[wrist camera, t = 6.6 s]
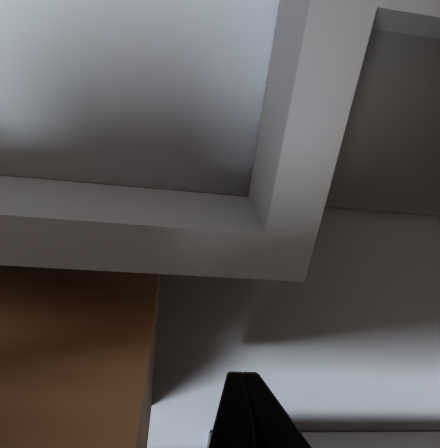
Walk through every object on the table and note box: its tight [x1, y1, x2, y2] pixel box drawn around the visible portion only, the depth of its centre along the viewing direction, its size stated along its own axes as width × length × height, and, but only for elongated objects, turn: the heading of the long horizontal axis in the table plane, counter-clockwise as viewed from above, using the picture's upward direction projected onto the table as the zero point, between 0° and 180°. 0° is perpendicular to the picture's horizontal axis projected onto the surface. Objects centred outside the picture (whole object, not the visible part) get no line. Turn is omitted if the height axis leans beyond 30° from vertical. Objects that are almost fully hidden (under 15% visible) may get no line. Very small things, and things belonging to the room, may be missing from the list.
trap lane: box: [0, 0, 440, 448], centre depth 9 cm, size 18×19×3 cm
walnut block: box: [0, 265, 160, 448], centre depth 7 cm, size 5×5×5 cm
